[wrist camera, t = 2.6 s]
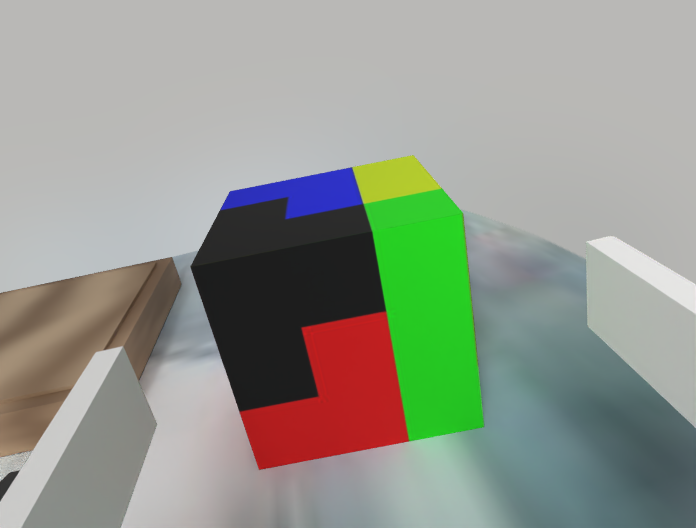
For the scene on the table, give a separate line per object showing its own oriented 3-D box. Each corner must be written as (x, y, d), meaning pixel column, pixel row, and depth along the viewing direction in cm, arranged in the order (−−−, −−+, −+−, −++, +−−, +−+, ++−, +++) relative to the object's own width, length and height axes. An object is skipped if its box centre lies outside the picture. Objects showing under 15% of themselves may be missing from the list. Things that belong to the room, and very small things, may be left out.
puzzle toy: (274, 347, 32) (229, 191, 28) (434, 315, 32) (413, 155, 28) (259, 471, 23) (190, 266, 19) (484, 428, 23) (463, 213, 19)
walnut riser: (-232, 507, 27) (-267, 467, 26) (-33, 329, 43) (-50, 301, 42) (115, 431, 27) (96, 390, 26) (181, 284, 44) (171, 254, 42)
